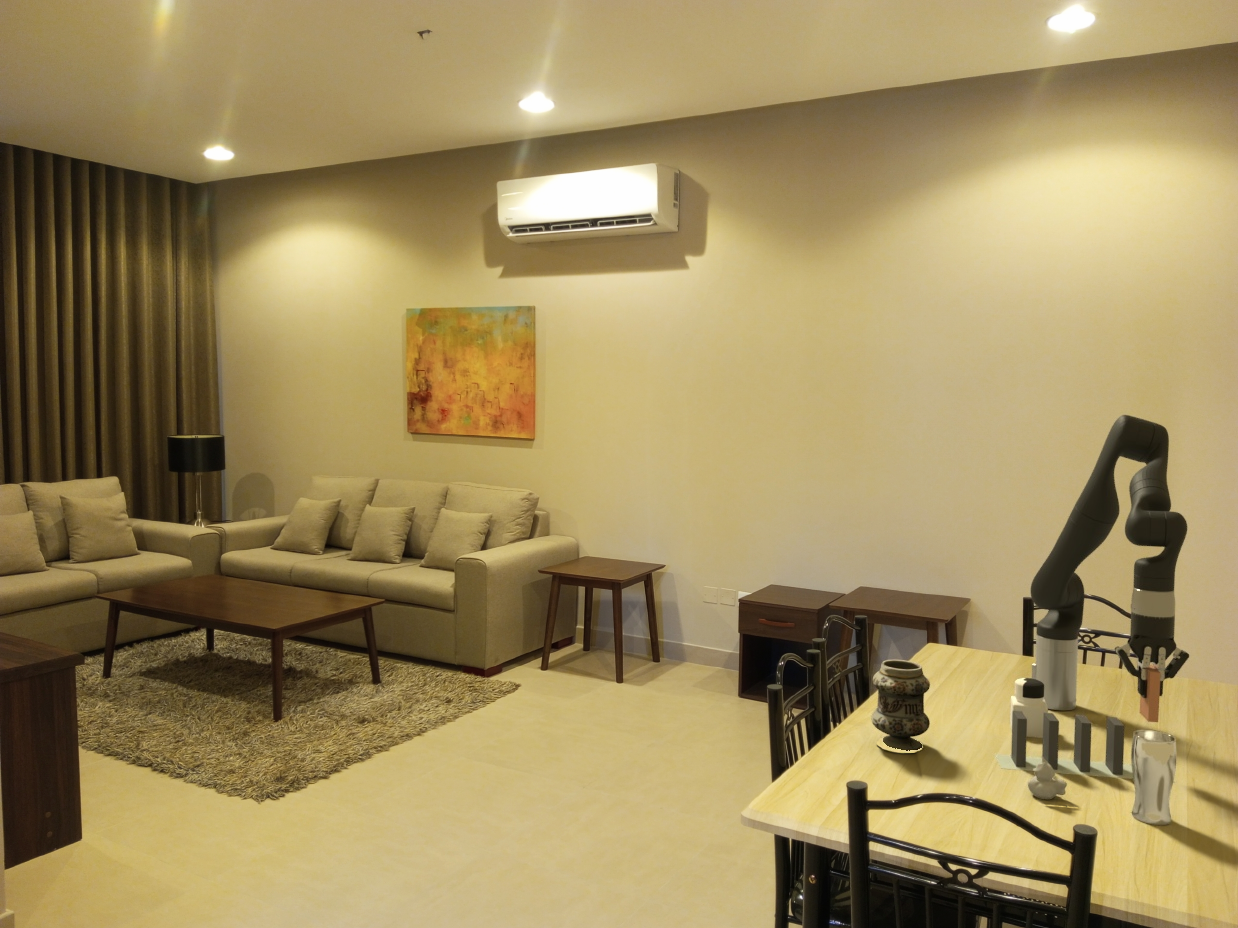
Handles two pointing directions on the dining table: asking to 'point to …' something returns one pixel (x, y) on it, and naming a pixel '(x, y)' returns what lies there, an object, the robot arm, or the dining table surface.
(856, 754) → the dining table surface
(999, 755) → the mat
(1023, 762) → the domino
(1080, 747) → the domino
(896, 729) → the apothecary jar
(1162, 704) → the dining table surface
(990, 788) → the dining table surface
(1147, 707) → the domino
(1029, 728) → the medicine bottle
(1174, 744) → the beer glass
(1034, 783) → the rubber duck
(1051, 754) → the domino
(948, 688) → the dining table surface
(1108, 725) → the domino
